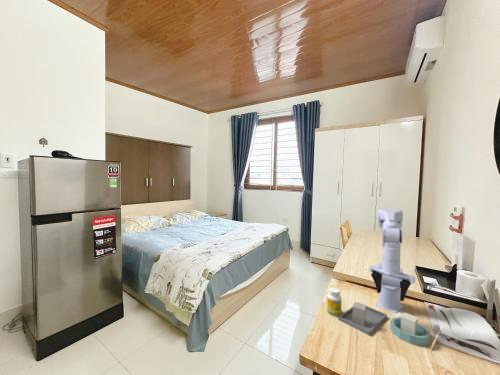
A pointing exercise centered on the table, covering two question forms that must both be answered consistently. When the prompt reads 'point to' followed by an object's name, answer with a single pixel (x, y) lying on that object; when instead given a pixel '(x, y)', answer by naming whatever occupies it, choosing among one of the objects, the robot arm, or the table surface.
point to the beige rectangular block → (409, 324)
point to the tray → (372, 320)
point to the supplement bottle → (334, 302)
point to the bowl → (419, 340)
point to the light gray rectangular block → (359, 314)
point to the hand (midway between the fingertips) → (390, 296)
